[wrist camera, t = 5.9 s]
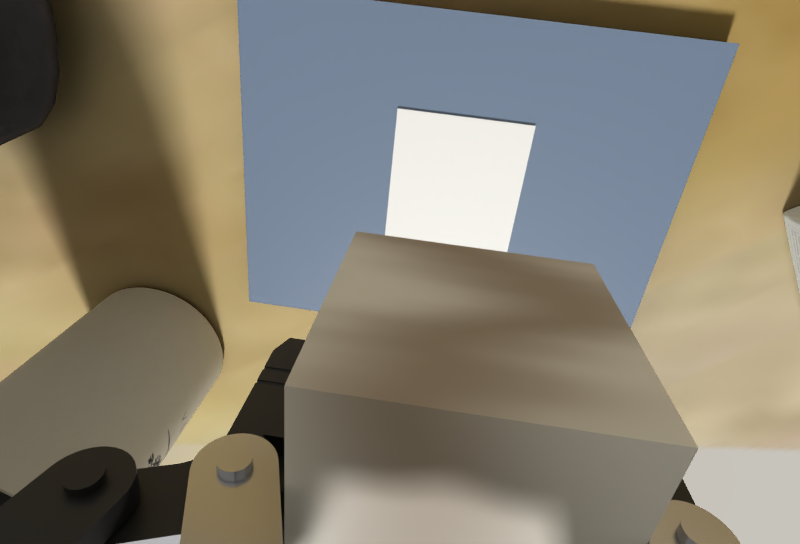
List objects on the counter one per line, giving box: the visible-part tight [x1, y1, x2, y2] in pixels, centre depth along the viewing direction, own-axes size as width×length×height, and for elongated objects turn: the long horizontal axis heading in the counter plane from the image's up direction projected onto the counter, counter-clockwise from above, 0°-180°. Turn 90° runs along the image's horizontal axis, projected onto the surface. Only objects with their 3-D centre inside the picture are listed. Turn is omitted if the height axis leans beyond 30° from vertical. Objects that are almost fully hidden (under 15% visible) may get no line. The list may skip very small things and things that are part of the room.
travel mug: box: [0, 287, 223, 506], centre depth 22 cm, size 8×8×18 cm
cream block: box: [284, 231, 698, 544], centre depth 10 cm, size 5×6×5 cm
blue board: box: [237, 0, 739, 328], centre depth 24 cm, size 20×15×1 cm
